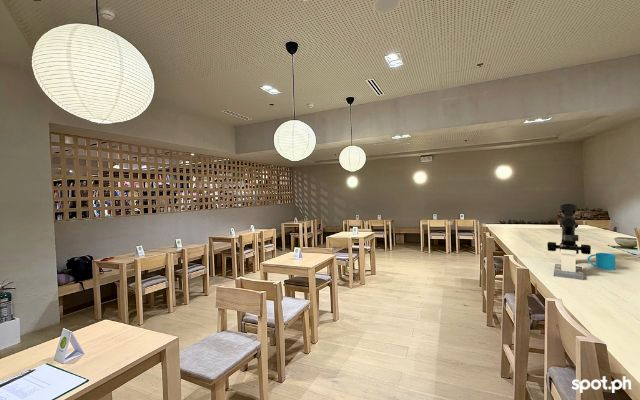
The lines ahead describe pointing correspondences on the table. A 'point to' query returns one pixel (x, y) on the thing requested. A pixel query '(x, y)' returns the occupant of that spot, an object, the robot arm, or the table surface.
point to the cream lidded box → (568, 260)
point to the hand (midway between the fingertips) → (568, 260)
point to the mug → (604, 261)
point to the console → (566, 274)
